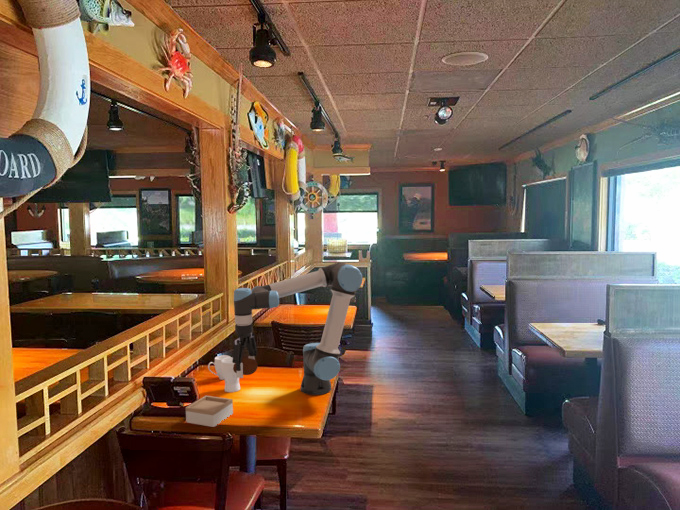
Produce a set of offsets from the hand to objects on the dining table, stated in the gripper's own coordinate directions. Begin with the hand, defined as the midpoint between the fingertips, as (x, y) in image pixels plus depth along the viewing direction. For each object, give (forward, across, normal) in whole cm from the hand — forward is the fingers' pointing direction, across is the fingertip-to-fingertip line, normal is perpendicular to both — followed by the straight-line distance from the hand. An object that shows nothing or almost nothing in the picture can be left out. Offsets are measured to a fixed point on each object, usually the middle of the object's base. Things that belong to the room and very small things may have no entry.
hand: (246, 373), depth 220 cm
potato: (0, 0, 0) cm, 0 cm away
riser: (+17, +11, -12) cm, 24 cm away
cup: (+17, -21, -22) cm, 35 cm away
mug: (+17, -32, -37) cm, 52 cm away
